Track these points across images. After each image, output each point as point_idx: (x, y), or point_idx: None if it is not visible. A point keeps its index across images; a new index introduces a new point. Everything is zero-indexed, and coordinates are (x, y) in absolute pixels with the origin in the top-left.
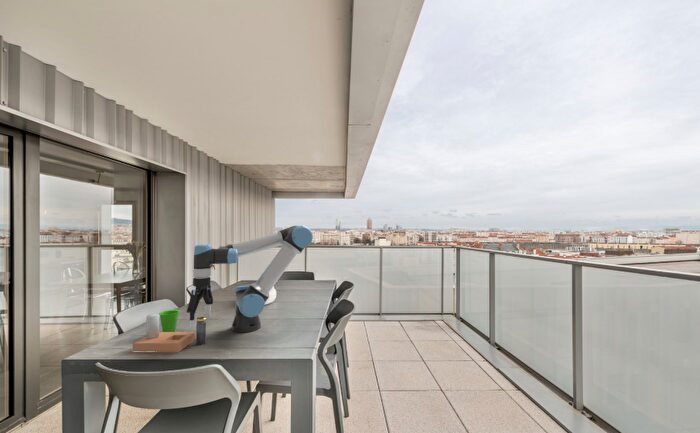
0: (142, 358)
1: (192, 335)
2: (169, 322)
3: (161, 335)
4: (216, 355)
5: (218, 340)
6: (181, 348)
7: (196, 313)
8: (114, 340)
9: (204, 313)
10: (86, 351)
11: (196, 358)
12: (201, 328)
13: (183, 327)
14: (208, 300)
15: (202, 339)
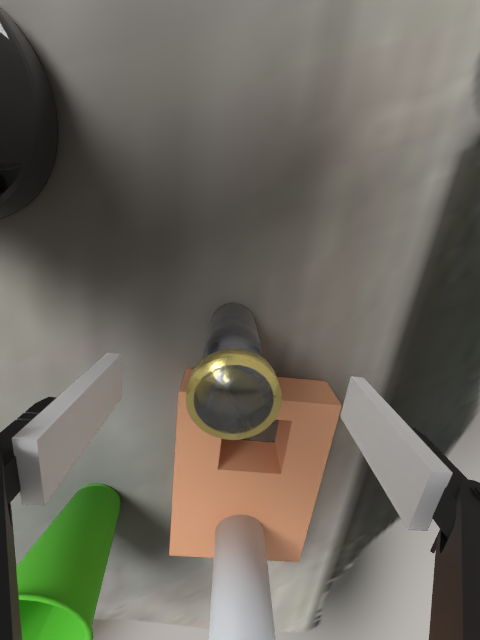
0: (354, 473)
1: None
2: (97, 556)
3: (218, 511)
4: (410, 186)
5: (195, 245)
6: (303, 382)
7: (423, 457)
8: (171, 614)
9: (103, 420)
10: None
11: (416, 277)
12: (260, 349)
13: None
14: (6, 531)
15: (251, 318)
